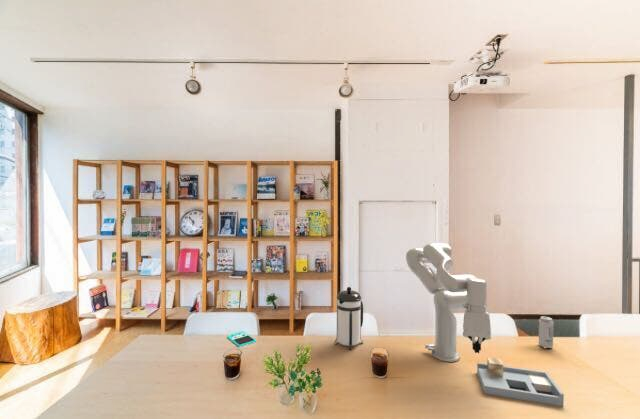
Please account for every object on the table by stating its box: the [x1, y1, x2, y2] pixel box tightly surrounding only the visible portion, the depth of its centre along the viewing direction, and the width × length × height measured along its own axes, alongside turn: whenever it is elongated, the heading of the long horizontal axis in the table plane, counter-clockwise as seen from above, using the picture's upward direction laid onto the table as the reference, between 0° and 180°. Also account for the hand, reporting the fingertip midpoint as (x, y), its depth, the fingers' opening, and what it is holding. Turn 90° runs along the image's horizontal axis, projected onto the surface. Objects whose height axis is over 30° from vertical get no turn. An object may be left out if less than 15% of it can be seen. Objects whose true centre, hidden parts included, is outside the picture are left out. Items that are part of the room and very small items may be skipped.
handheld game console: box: [227, 331, 257, 348], centre depth 172 cm, size 10×16×1 cm, turn 39°
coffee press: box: [333, 286, 364, 351], centre depth 167 cm, size 17×16×30 cm
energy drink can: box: [538, 315, 554, 349], centre depth 164 cm, size 6×6×15 cm
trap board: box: [476, 361, 565, 407], centre depth 128 cm, size 26×16×4 cm, turn 73°
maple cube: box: [486, 357, 504, 377], centre depth 133 cm, size 5×5×5 cm
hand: (476, 351), depth 135 cm, fingers closed
